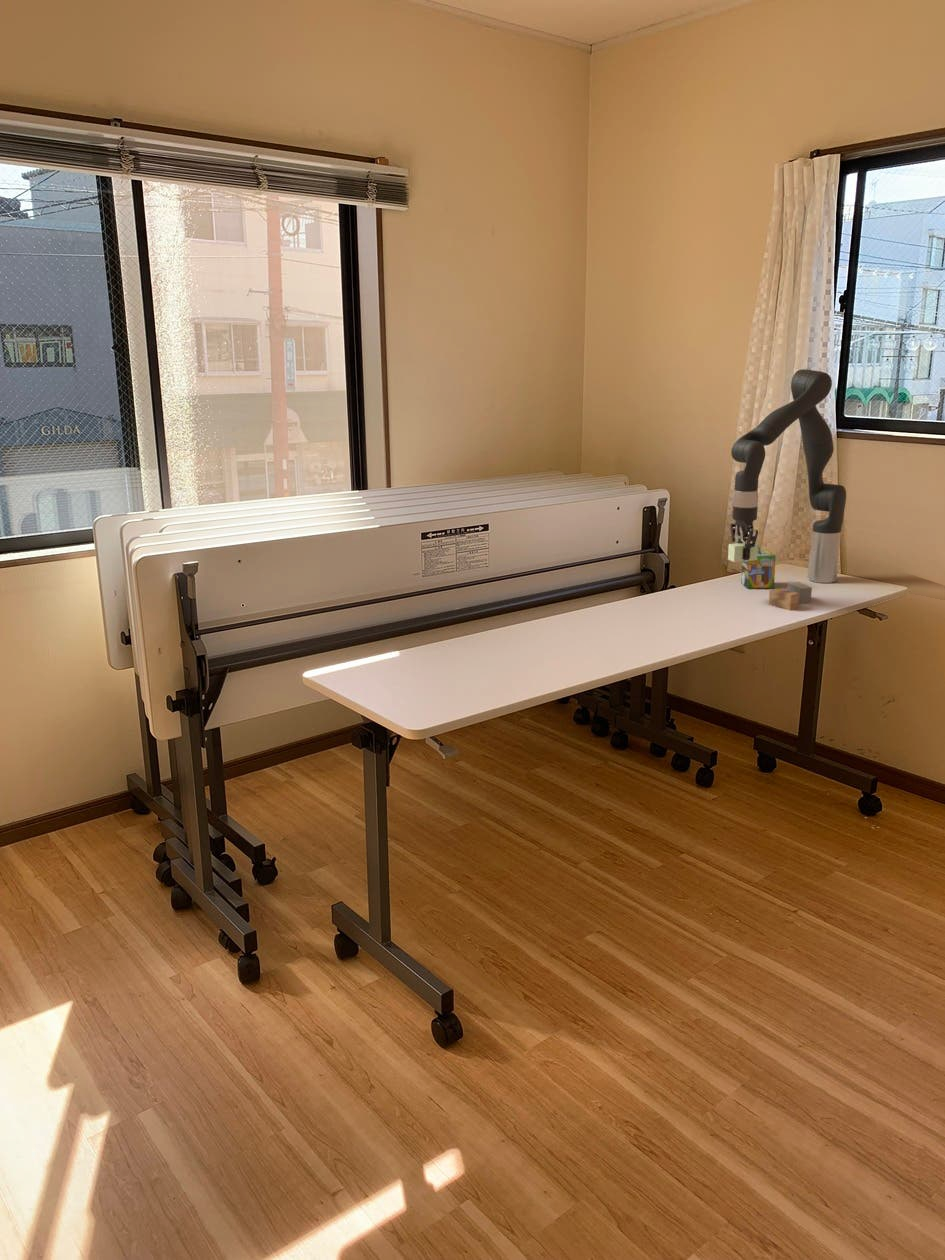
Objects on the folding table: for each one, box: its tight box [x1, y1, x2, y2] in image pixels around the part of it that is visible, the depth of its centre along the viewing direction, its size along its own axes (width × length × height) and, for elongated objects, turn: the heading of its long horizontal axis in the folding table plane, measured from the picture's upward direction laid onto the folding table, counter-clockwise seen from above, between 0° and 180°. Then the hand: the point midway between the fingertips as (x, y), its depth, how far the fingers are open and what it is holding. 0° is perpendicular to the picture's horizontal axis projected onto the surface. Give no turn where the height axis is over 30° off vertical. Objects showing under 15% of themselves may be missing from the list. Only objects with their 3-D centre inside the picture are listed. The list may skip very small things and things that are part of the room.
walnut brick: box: [768, 588, 799, 611], centre depth 307 cm, size 8×4×5 cm, turn 36°
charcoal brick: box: [786, 581, 813, 604], centre depth 315 cm, size 8×4×5 cm, turn 11°
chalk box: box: [740, 542, 777, 590], centre depth 332 cm, size 9×9×15 cm
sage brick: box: [727, 543, 759, 563], centre depth 312 cm, size 8×4×5 cm, turn 103°
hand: (742, 557), depth 312 cm, fingers closed on sage brick, 4 cm apart
